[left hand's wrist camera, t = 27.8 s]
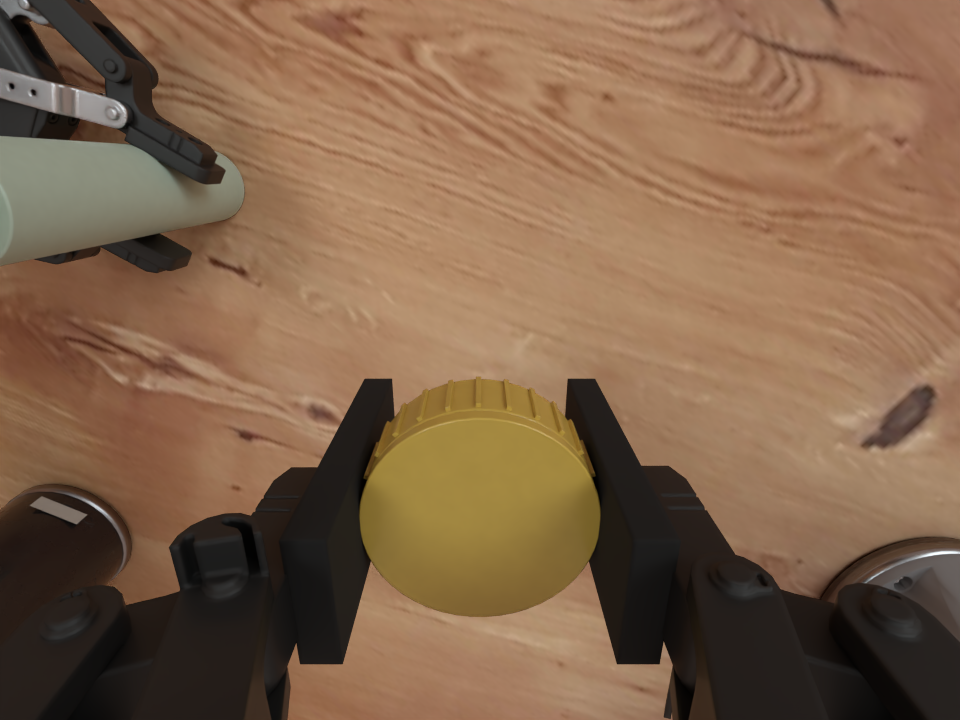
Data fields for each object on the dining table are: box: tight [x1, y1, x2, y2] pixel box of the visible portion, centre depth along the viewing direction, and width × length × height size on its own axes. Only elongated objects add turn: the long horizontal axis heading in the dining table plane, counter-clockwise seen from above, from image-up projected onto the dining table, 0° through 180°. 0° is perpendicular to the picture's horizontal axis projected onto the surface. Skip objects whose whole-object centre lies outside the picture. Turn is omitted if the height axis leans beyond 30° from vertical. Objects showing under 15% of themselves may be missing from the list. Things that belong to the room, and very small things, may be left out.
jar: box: [0, 136, 244, 266], centre depth 23 cm, size 4×4×18 cm
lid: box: [359, 377, 601, 617], centre depth 11 cm, size 5×5×2 cm
